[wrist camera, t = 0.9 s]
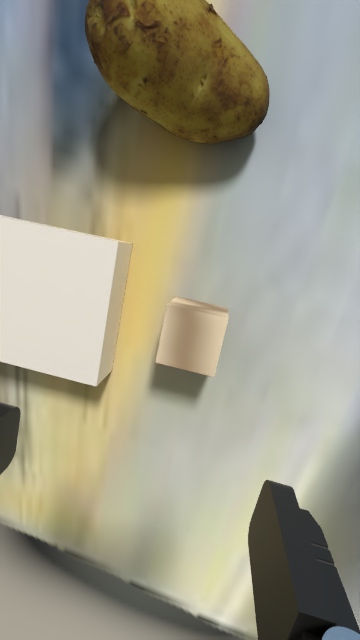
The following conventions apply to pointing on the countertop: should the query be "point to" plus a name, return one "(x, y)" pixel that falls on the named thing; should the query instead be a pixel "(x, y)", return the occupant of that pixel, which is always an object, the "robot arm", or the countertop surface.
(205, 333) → the birch block
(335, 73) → the countertop surface
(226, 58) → the potato
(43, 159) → the countertop surface
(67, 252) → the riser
